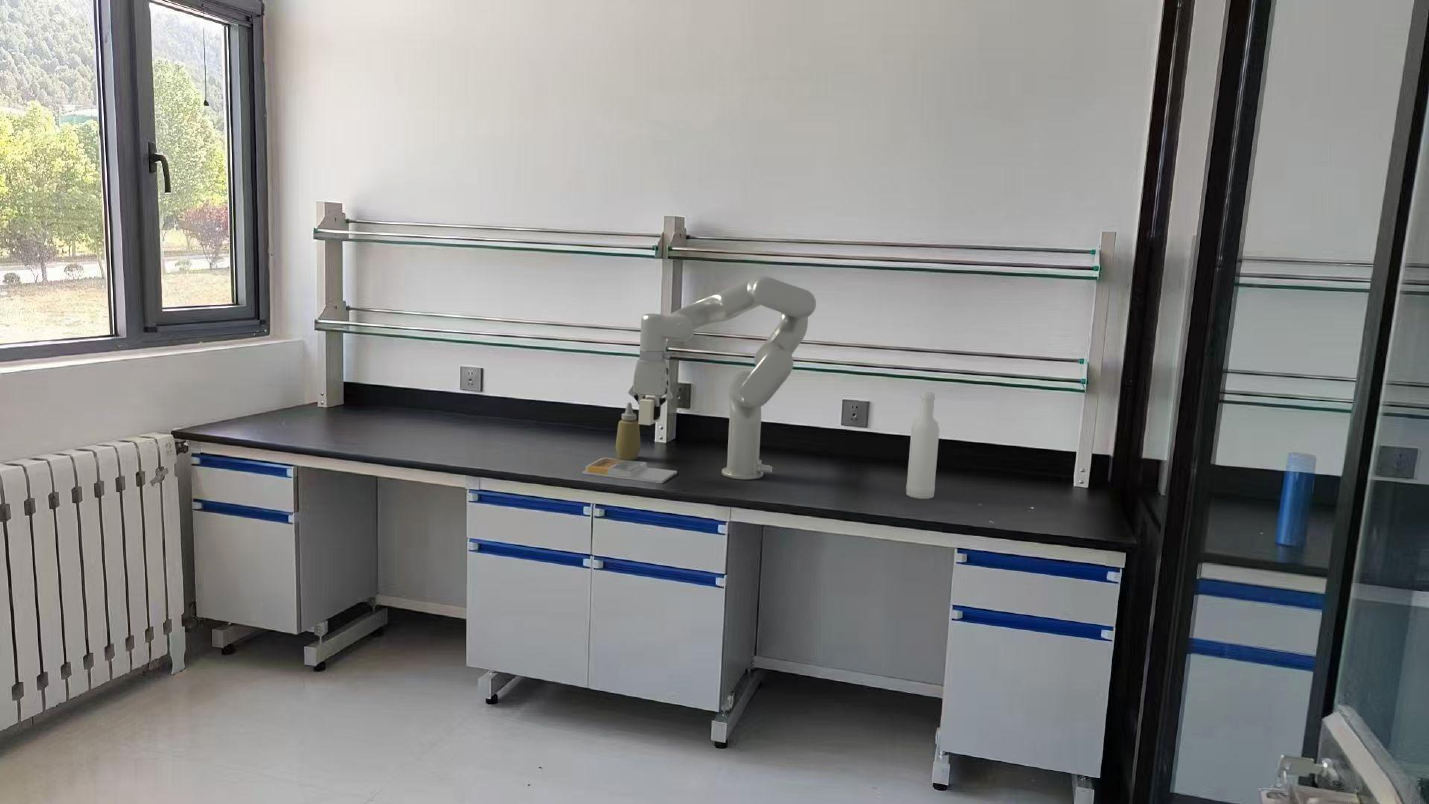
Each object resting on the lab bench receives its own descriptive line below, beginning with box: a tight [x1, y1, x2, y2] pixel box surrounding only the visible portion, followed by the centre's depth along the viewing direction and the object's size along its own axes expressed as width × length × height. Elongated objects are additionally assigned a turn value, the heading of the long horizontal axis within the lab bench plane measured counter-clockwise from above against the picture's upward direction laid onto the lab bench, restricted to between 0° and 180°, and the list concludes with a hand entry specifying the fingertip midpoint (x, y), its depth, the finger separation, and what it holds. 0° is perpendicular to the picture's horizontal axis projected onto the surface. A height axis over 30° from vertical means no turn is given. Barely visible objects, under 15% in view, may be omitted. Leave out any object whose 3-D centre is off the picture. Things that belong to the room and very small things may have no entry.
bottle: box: [905, 391, 940, 500], centre depth 272 cm, size 8×8×30 cm
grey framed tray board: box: [582, 457, 678, 484], centre depth 285 cm, size 25×13×2 cm, turn 73°
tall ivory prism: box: [637, 395, 661, 426], centre depth 280 cm, size 4×9×7 cm, turn 164°
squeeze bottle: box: [615, 402, 642, 461], centre depth 303 cm, size 8×8×18 cm
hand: (649, 417), depth 281 cm, fingers closed on tall ivory prism, 3 cm apart
